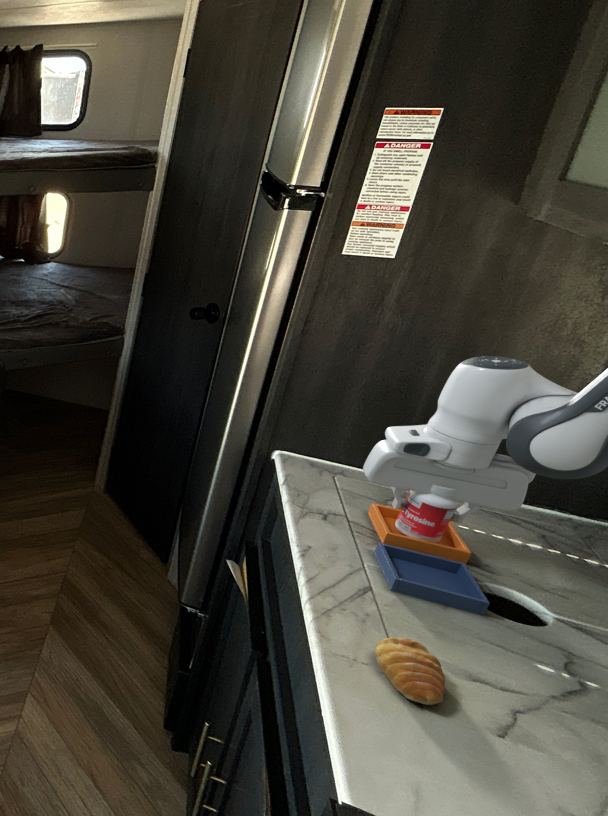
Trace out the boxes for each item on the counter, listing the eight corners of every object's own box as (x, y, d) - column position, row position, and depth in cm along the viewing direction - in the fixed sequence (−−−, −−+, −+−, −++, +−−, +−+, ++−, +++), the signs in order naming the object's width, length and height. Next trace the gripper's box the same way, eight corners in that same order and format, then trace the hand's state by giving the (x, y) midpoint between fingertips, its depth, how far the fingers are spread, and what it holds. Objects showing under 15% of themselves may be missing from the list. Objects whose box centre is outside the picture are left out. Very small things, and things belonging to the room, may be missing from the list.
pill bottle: (386, 526, 115) (408, 475, 111) (407, 519, 117) (430, 469, 112) (426, 547, 110) (451, 494, 105) (448, 540, 111) (474, 487, 107)
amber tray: (444, 531, 115) (450, 520, 114) (466, 564, 107) (471, 553, 106) (367, 513, 120) (372, 502, 119) (382, 544, 112) (387, 533, 111)
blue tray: (458, 574, 105) (464, 563, 104) (483, 615, 97) (490, 603, 96) (373, 553, 110) (378, 542, 109) (390, 590, 101) (395, 578, 100)
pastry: (455, 718, 80) (467, 697, 79) (388, 698, 83) (398, 677, 82) (427, 663, 88) (437, 643, 87) (367, 646, 91) (376, 626, 90)
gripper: (532, 453, 104) (496, 521, 110) (375, 425, 113) (350, 489, 118) (551, 471, 99) (513, 542, 104) (385, 440, 108) (358, 507, 113)
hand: (425, 514), depth 112 cm, fingers closed on pill bottle, 6 cm apart
